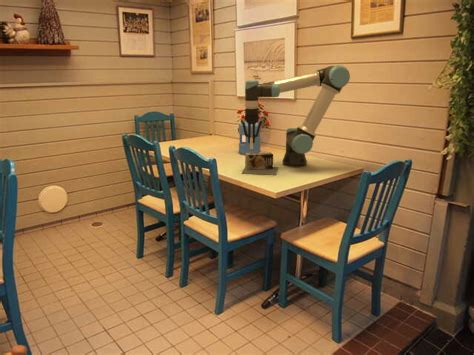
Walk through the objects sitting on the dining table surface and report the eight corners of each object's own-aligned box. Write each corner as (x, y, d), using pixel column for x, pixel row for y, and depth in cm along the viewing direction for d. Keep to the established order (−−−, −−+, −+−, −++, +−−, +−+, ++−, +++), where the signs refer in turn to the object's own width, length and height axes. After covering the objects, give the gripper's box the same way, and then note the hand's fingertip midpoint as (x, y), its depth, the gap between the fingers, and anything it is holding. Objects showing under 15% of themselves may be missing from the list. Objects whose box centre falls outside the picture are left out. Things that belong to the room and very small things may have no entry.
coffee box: (246, 155, 225) (273, 154, 227) (245, 152, 231) (270, 151, 233) (246, 170, 227) (273, 168, 230) (245, 167, 233) (270, 166, 236)
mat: (278, 167, 234) (278, 167, 234) (275, 175, 217) (276, 174, 217) (246, 166, 237) (246, 165, 237) (241, 173, 220) (241, 173, 220)
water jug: (260, 151, 282) (261, 113, 274) (259, 155, 267) (260, 115, 259) (239, 150, 283) (239, 112, 276) (237, 155, 268) (237, 115, 261)
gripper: (263, 107, 221) (263, 147, 227) (241, 107, 223) (241, 147, 229) (262, 108, 213) (261, 150, 220) (239, 108, 216) (239, 149, 222)
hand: (251, 148), depth 225 cm, fingers closed
